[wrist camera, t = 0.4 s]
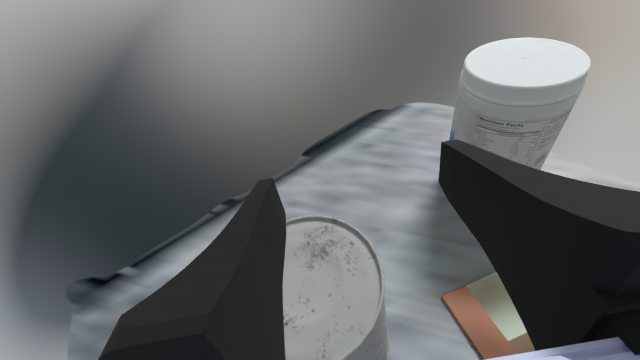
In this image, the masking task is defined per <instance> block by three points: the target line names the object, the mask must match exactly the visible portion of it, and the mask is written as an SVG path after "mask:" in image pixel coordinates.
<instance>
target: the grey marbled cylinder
mask: <svg viewBox="0 0 640 360" xmlns="http://www.w3.org/2000/svg"><path fill="white" fill-rule="evenodd" d="M384 292H385V287H384V272H383V268H382V265H381V262H380V259H379V256H378V254H377V252H376V250H375V249H374V247H373V245H372V244H371V242H370V241H369V240H368V239H367V238H366V237H365V236H364V235H363V234H362V232H361V231H360V230H358V229H357V228H355V227H353V226H352V225H350V224H349V223H347V222H345V221H342V220H339V219H336V218H334V217H328V216H321V215H314V216H302V217H298V218H294V219H290V220H287V221H286V247H285V259H284V271H283V320H284V341H285V358H286V360H388V355H389V347H390V346H389V333H388V329H387V323H386V312H385V301H384Z"/></svg>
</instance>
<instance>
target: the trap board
mask: <svg viewBox="0 0 640 360" xmlns="http://www.w3.org/2000/svg"><path fill="white" fill-rule="evenodd" d="M442 299H443V300H444V302H445V303H446V305H447V306H448V308H449V309H450V311H451V312H452V314H453V315H454V317H455V318H456V320H457V321H458V323H459V324H460V326H461V327H462V329H463V330H464V332H465V333H466V335H467V336H468V338H469V339H470V341H471V342H472V344H473V345H474V347H475V348H476V350H477V351H478V353H479V354H480V356H481V357H482V359H483V360H485V359H491V358H497V357H502V356H508V355H514V354H520V353H526V352H532V351H535V349H534V346H533V344H532V342H531V340H530V338H529V335H528V333H527V331H526V329H525V327H524V325H523V322H522V320H521V318H520V316H519V314H518V312H517V310H516V308H515V306H514V304H513V302H512V300H511V298H510V296H509V294H508V292H507V291H506V289H505V287H504V285H503V283H502V281H501V279H500V278H499V276H498V274H497V272H494V273H492V274H490V275H488V276H485V277H483V278H481V279H479V280H476V281H474V282H472V283H470V284H467V285H465V286H463V287H461V288H458V289H456V290H454V291H452V292H449V293H447V294H445V295H443V296H442Z"/></svg>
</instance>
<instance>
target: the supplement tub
mask: <svg viewBox="0 0 640 360" xmlns="http://www.w3.org/2000/svg"><path fill="white" fill-rule="evenodd" d="M590 67H591V60H590V58H589V57H588V55H587V54H586V53H585V52H584V51H582V50H581V49H579V48H577V47H575V46H573V45H570V44H568V43H565V42H561V41H556V40H551V39H543V38H513V39H505V40H499V41H495V42H491V43H488V44H485V45H483V46H480V47H478V48H477V49H475V50H473V51H472V52H471V53H470V54H469V55H468V56H467V57H466V59H465V62H464V66H463V70H462V72H461V75H460V80H459V87H458V92H457V98H456V104H455V110H454V116H453V122H452V128H451V134H450V140H455V139H457V140H460V141H463V142H466V143H469V144H471V145H474V146H476V147H479V148H481V149H484V150H486V151H489V152H491V153H493V154H496V155H499V156H501V157H504V158H506V159H509V160H512V161H514V162H517V163H520V164H523V165H526V166H529V167H532V168H535V169H538V170H540V169H541V167H542V165H543V163H544V161H545V159H546V158H547V156H548V154H549V152H550V150H551V148H552V146H553V144H554V142H555V140H556V139H557V137H558V135H559V133H560V131H561V129H562V127H563V125H564V123H565V121H566V120H567V117H568V116H569V114H570V112H571V110H572V108H573V106H574V104H575V102H576V100H577V98H578V96H579V94H580V92H581V90H582V88H583V86H584V84H585V79H586V76H587V74H588V72H589V70H590ZM450 140H449V141H450Z"/></svg>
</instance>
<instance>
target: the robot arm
mask: <svg viewBox="0 0 640 360" xmlns="http://www.w3.org/2000/svg"><path fill="white" fill-rule="evenodd" d="M439 183H440V185H441V187H442V189H443V191H444V193H445V195H446V197H447V199H448V200H449V202H450V203H451V205H452V206H453V208H454V209H455V210H456V212H457V213H458V215H459V216H460V217H461V219H462V220H463V221H464V223H465V224H466V225H467V227H468V228H469V230H470V231H471V232H472V234H473V235H474V236H475V238H476V239H477V241H478V242H479V243H480V245H481V246H482V248H483V250H484V251H485V253H486V254H487V256H488V258H489V260H490V261H491V263H492V265H493V267H494V268H495V270H496V272H497V274H498V276H499V278H500V279H501V281H502V283H503V285H504V287H505V289H506V291H507V292H508V294H509V296H510V298H511V300H512V302H513V304H514V306H515V308H516V310H517V312H518V314H519V316H520V318H521V320H522V322H523V325H524V327H525V329H526V331H527V333H528V335H529V338H530V340H531V342H532V344H533V346H534V349H535V351H532V352H526V353H520V354H514V355H508V356H502V357H497V358H491V359H485V360H640V192H637V191H631V190H624V189H619V188H613V187H607V186H603V185H598V184H593V183H588V182H583V181H579V180H575V179H570V178H566V177H563V176H559V175H555V174H552V173H548V172H544V171H541V170H538V169H535V168H532V167H529V166H526V165H523V164H520V163H517V162H514V161H512V160H509V159H506V158H504V157H501V156H499V155H496V154H493V153H491V152H489V151H486V150H484V149H481V148H479V147H476V146H474V145H471V144H469V143H466V142H463V141H460V140H457V139H455V140H450V141H446V142H441V157H440V171H439ZM285 247H286V215H285V210H284V208H283V205H282V202H281V200H280V197H279V194H278V191H277V189H276V186H275V183H274V181H273V178H269V179H265V180H260V181H258V182H257V184H256V186H255V187H254V188H253V190H252V191H251V193H250V194H249V196H248V197H247V199H246V200H245V202H244V203H243V204H242V206H241V207H240V209H239V210H238V211H237V213H236V214H235V215H234V217H233V218H232V219H231V220H230V222H229V223H228V224H227V226H226V227H225V228H224V229H223V231H222V232H221V233H220V234H219V235H218V236H217V237H216V239H215V240H214V241H213V242H212V243H211V244H210V245H209V246H208V247H207V248H206V249H205V250H204V251H203V252H202V253H201V254H200V255H199V256H198V257H196V258H195V259H194V260H193V261H192V262H191V263H190V264H189V265H188V266H187V267H186V268H184V269H183V270H182V271H181V272H180V273H178V274H177V275H176V276H175V277H174V278H172V279H171V280H170V281H169V282H167V283H166V284H165V285H163V286H162V287H161V288H160V289H158V290H157V291H155V292H154V293H153V294H151V295H150V296H148V297H147V298H146V299H144V300H143V301H141V302H140V303H138V304H137V305H136V306H134V307H133V308H131V309H130V310H128V311H127V312H125V313H124V314H122V315H121V317H120V318H119V320H118V322H117V324H116V326H115V328H114V330H113V332H112V334H111V336H110V338H109V340H108V342H107V344H106V345H105V347H104V349H103V351H102V353H101V355H100V357H99V359H98V360H286V358H285V341H284V320H283V271H284V259H285Z"/></svg>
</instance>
